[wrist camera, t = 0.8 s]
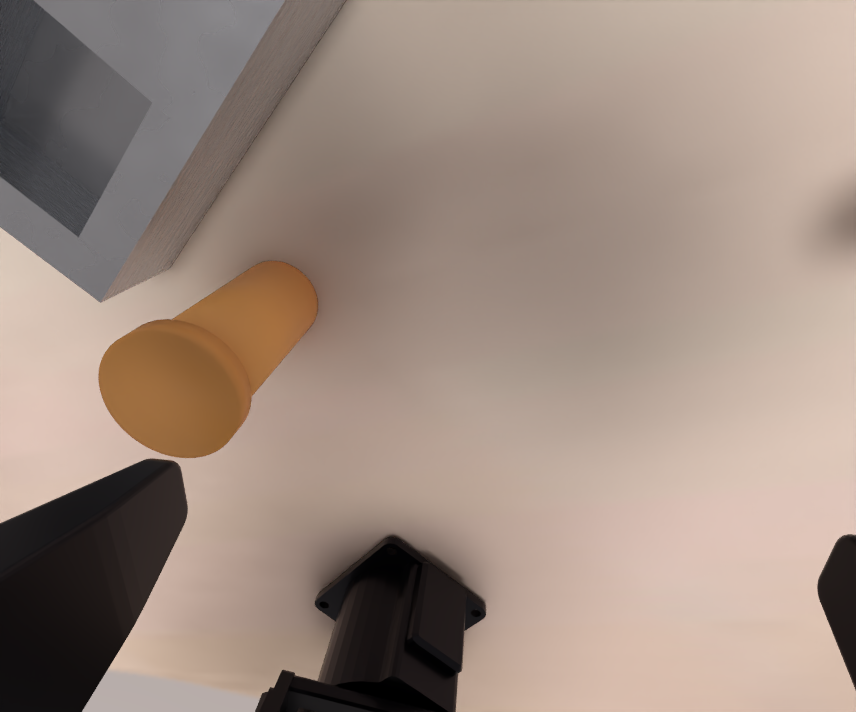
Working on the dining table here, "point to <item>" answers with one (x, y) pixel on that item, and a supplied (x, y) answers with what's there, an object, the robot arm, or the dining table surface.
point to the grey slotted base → (135, 121)
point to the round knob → (206, 361)
